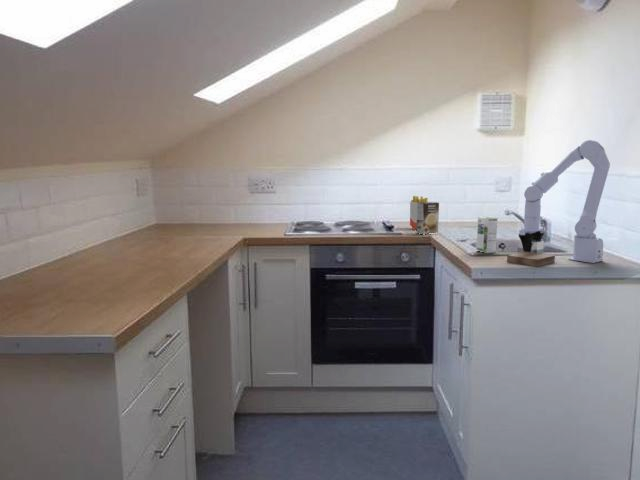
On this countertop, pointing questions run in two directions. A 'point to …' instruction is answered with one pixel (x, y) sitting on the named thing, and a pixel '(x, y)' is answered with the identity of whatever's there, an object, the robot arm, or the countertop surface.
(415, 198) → the french fries container
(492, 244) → the syrup box
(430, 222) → the coffee box
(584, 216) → the robot arm
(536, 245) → the block
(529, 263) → the stand
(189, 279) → the countertop surface
